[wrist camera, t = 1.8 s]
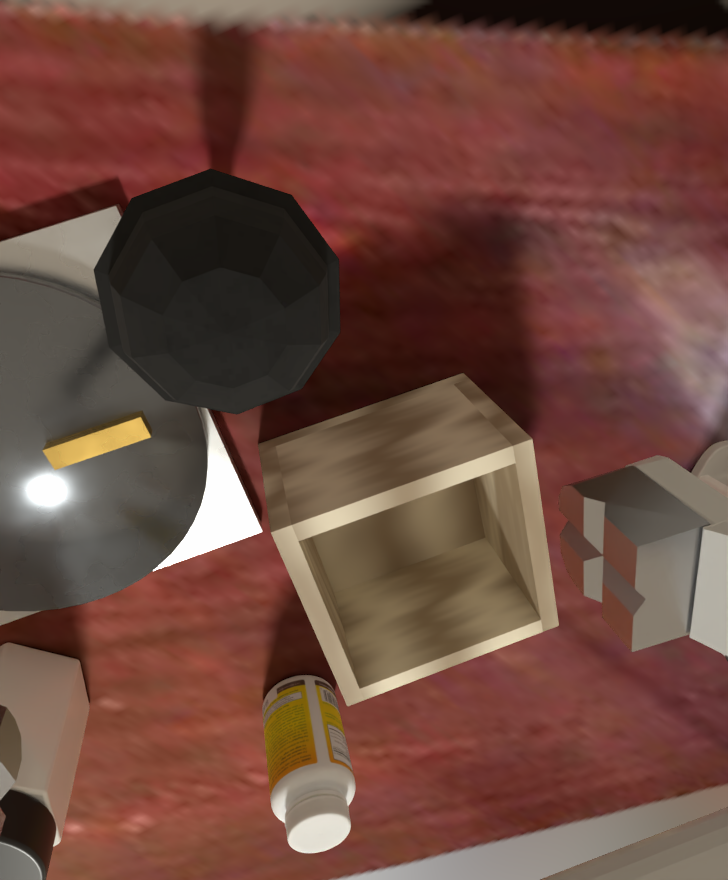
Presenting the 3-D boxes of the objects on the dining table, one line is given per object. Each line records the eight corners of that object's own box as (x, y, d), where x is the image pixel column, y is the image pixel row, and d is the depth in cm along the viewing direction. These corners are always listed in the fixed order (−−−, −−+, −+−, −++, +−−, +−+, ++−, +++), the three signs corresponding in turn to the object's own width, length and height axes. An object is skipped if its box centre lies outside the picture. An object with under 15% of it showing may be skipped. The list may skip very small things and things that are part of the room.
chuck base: (119, 203, 28) (116, 205, 27) (261, 522, 38) (262, 531, 37) (-306, 336, 27) (-324, 343, 26) (-46, 632, 36) (-52, 644, 35)
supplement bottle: (251, 719, 45) (261, 862, 37) (276, 666, 44) (292, 802, 35) (319, 725, 47) (344, 862, 39) (345, 675, 46) (377, 806, 37)
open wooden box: (463, 372, 36) (532, 438, 28) (495, 535, 42) (558, 625, 35) (258, 444, 35) (270, 532, 27) (322, 598, 42) (347, 706, 34)
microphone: (271, 149, 28) (361, 173, 11) (279, 272, 31) (362, 447, 14) (150, 150, 27) (42, 178, 10) (169, 277, 30) (109, 474, 13)
